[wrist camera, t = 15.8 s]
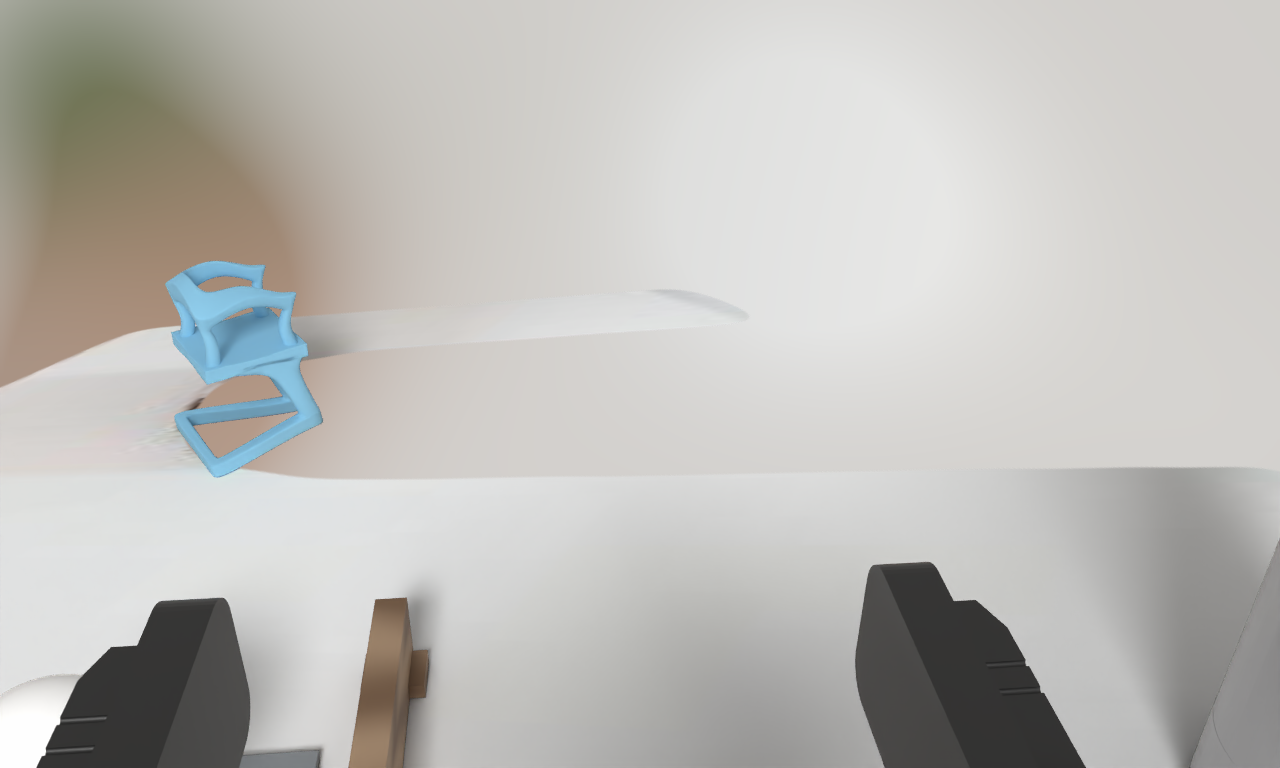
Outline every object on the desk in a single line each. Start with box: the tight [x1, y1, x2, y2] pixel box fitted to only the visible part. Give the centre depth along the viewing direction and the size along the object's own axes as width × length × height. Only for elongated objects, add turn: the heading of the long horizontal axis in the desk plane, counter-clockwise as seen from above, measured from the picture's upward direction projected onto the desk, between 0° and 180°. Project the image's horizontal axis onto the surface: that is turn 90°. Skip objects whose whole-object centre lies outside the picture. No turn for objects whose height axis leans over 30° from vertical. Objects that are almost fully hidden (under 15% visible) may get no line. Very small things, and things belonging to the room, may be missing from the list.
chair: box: [165, 261, 323, 477], centre depth 69 cm, size 8×8×12 cm
